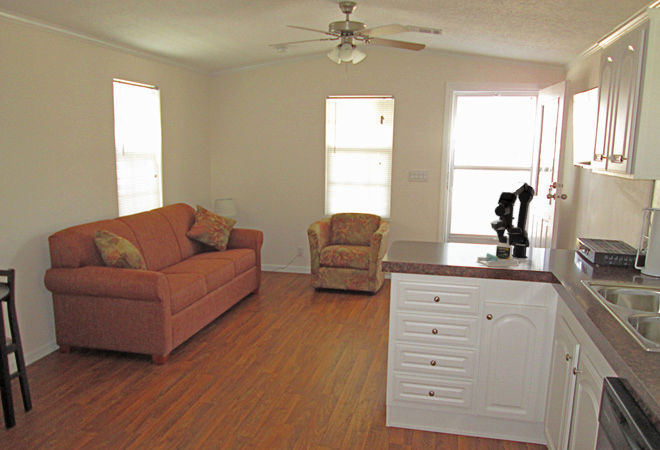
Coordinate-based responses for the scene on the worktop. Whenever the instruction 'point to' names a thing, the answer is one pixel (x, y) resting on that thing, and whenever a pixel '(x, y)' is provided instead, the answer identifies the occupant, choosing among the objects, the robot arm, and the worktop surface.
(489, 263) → the lane
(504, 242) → the medicine bottle
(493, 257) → the pusher
